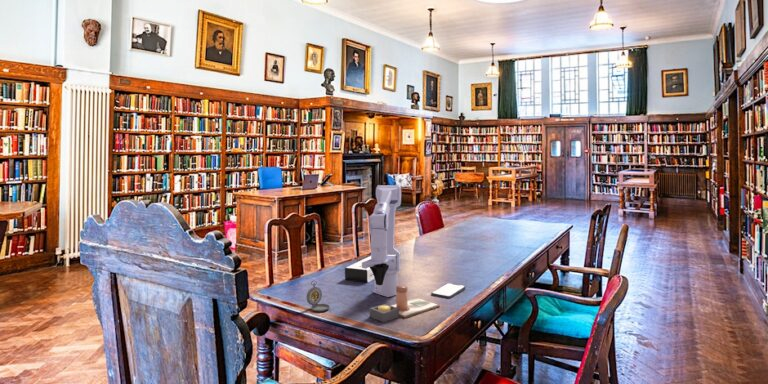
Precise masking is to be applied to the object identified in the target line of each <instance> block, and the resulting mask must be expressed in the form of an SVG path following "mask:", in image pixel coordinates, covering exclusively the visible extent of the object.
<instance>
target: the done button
mask: <svg viewBox="0 0 768 384" xmlns="http://www.w3.org/2000/svg"><path fill="white" fill-rule="evenodd" d="M378 306H379V305H378ZM390 306H391V305H390ZM390 306H379V307H378V310H379V311H382V312H386V311H389V310H391V307H390Z"/></svg>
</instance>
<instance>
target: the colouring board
mask: <svg viewBox="0 0 768 384" xmlns="http://www.w3.org/2000/svg"><path fill="white" fill-rule="evenodd" d="M407 304H408V309H407V310H403V311H401V310H399V317H398V318H401V319H408V318H411V317H414V316H417V315H420V314H423V313H425V312H428V311H432V310H434V309H437V308H440V304H437V303H434V302H431V301H427V300H425V299H422V298H418V297H414V298H411V299H407ZM390 306H393V307H396V303H394V304H392V305H390Z"/></svg>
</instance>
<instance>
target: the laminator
mask: <svg viewBox="0 0 768 384" xmlns="http://www.w3.org/2000/svg"><path fill="white" fill-rule="evenodd" d="M387 256H396V255H387ZM370 259H371V255H370V256H367V257H365V258H363V259H361V260H359V261H357V262H355V263H352V264H350V265H349V266H346V267H344V279H345V281H352V282H360V283H361V282H362V283H369V282H371V281H374V275H373V272H372V270H371V269H370V267H368V268H366V269H365V268H362V262H365V261H367V260H370Z"/></svg>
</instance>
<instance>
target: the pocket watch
mask: <svg viewBox="0 0 768 384" xmlns="http://www.w3.org/2000/svg"><path fill="white" fill-rule="evenodd" d="M310 285H312V287H311V288H310V289H309V290H308V291H307V294H306V296H305V297H306V301H307V303H308V304H309V305H311V311H314V312H319V313H320V312H326V311H328V310H329V309H330V305H329V304H326V303H320V301H321V299H322V296H323V293H322V289H321V288H319V287H317V286H316V285H317V281H316V280H311V282H310Z"/></svg>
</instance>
